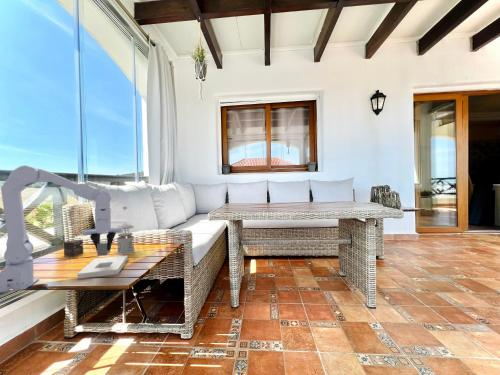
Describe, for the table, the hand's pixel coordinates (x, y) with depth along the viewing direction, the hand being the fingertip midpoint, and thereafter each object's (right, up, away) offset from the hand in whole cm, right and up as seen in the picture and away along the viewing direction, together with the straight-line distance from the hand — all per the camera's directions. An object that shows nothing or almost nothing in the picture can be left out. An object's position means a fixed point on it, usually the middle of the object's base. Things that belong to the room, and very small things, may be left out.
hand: (103, 250), depth 101 cm
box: (-31, -9, +24) cm, 40 cm away
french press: (-5, -8, +28) cm, 29 cm away
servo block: (0, -2, 0) cm, 2 cm away
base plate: (0, -8, +2) cm, 9 cm away
